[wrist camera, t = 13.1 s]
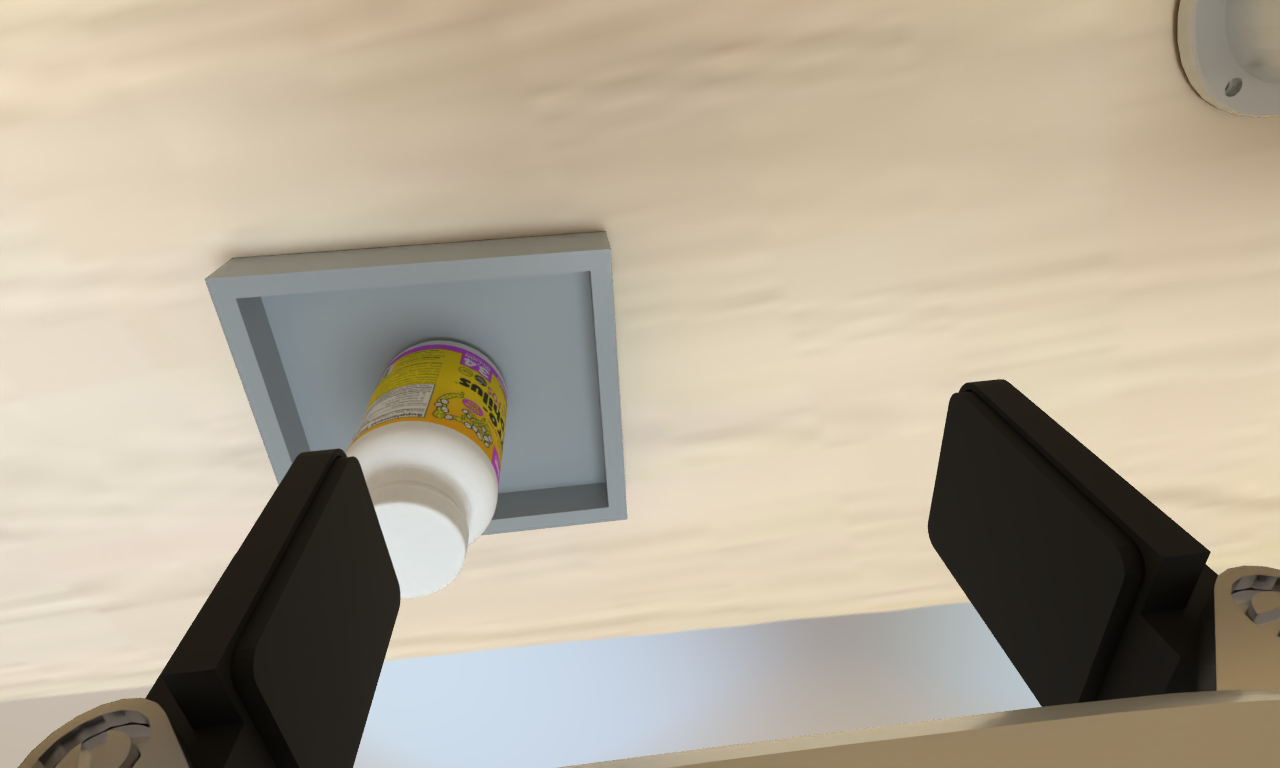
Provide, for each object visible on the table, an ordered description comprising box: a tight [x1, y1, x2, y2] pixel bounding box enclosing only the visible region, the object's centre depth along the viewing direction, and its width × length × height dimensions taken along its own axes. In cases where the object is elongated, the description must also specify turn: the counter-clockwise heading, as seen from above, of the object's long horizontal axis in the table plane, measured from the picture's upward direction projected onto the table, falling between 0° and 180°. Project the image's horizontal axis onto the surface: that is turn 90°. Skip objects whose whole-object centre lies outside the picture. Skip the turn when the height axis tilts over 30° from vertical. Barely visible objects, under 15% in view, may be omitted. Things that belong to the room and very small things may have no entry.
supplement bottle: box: [345, 340, 508, 598], centre depth 31 cm, size 7×7×13 cm
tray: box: [205, 231, 627, 535], centre depth 36 cm, size 18×16×3 cm
